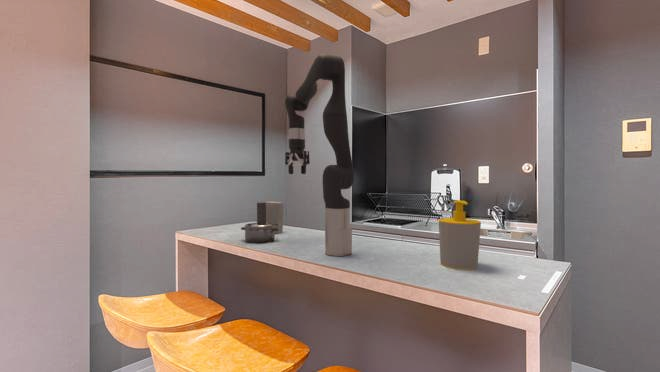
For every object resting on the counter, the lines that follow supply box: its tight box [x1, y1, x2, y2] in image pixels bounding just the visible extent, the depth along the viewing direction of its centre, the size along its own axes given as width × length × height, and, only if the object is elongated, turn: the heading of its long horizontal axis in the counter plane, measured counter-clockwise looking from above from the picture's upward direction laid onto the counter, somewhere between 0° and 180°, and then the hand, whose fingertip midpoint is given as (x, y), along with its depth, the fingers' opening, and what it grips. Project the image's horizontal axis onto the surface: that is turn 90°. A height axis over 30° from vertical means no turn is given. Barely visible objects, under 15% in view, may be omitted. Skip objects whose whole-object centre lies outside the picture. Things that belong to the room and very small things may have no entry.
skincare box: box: [264, 201, 285, 235], centre depth 174 cm, size 8×7×16 cm
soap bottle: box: [438, 199, 482, 271], centre depth 113 cm, size 13×13×21 cm
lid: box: [251, 201, 272, 227], centre depth 154 cm, size 9×9×11 cm
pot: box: [240, 222, 279, 244], centre depth 154 cm, size 17×13×7 cm
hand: (297, 174), depth 159 cm, fingers open, 8 cm apart
